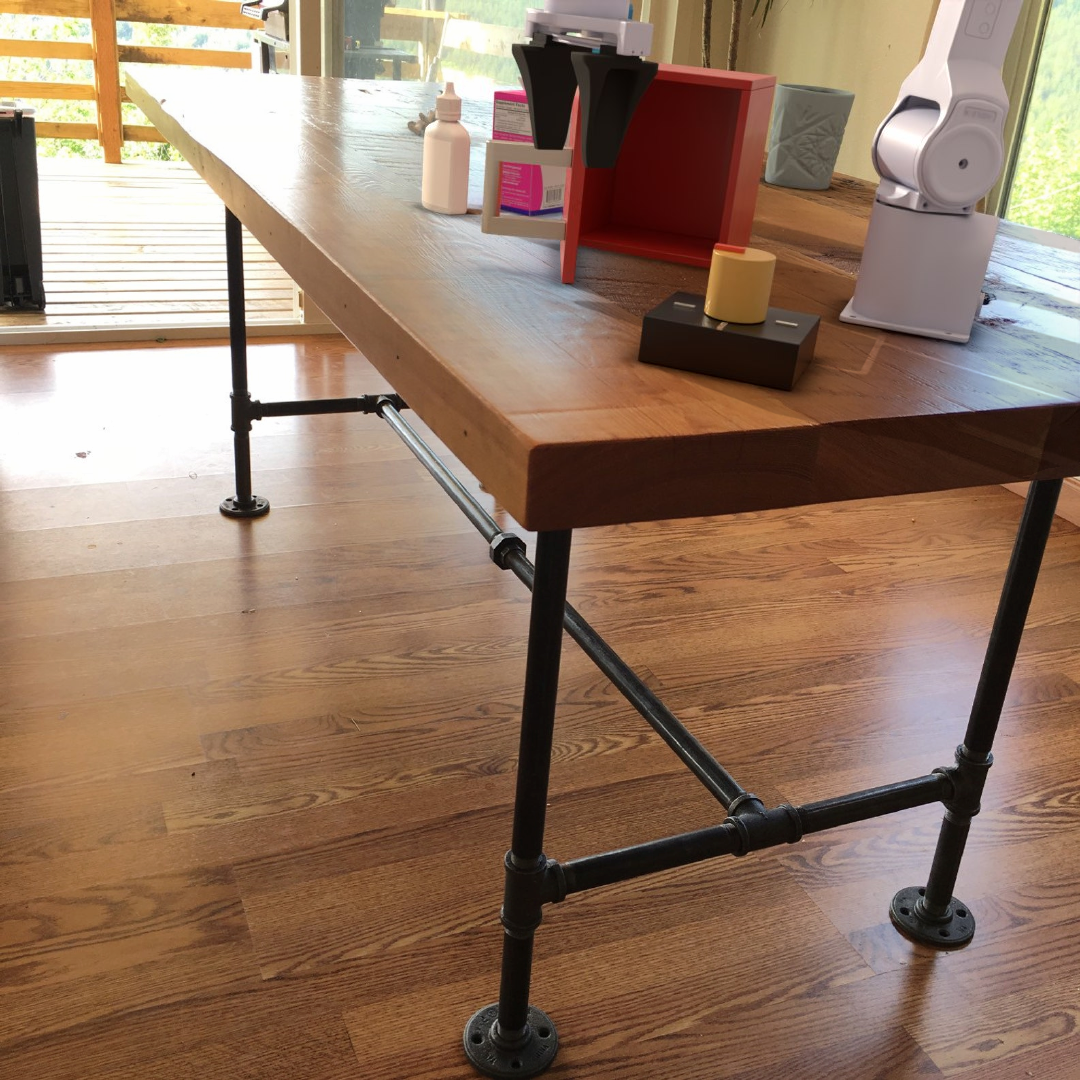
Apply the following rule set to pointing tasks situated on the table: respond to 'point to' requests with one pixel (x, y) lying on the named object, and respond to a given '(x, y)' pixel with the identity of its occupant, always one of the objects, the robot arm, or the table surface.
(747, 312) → the knob
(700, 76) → the cabinet
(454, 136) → the eye dropper bottle
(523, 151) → the red door with handle
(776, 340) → the panel
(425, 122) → the soldier figure
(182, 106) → the table surface
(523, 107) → the supplement box
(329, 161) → the table surface
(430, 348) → the table surface
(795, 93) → the grey green vase
